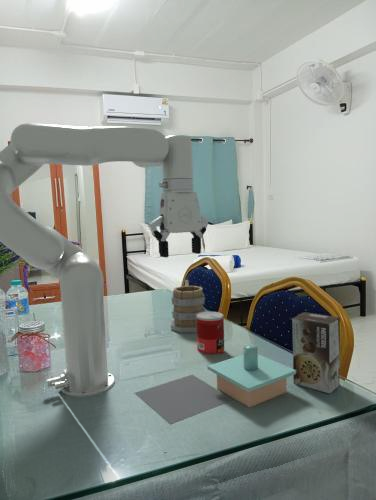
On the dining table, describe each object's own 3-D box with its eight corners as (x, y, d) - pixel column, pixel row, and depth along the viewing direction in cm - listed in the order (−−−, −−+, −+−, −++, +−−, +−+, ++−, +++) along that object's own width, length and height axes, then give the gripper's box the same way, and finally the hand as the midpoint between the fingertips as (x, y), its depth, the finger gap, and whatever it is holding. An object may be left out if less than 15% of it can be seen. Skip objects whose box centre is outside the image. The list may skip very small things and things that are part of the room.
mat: (170, 427, 75) (170, 424, 75) (134, 395, 89) (134, 392, 89) (233, 402, 84) (233, 399, 84) (192, 376, 97) (192, 374, 97)
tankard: (207, 332, 131) (206, 289, 130) (170, 333, 132) (168, 290, 130) (206, 316, 151) (205, 278, 149) (173, 316, 151) (172, 279, 150)
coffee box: (340, 384, 91) (341, 317, 89) (329, 394, 86) (330, 324, 84) (304, 374, 97) (303, 311, 95) (291, 383, 92) (291, 317, 90)
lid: (248, 392, 78) (248, 364, 77) (207, 369, 90) (206, 344, 89) (296, 373, 86) (296, 348, 85) (252, 354, 97) (252, 332, 97)
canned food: (222, 356, 110) (221, 319, 108) (195, 355, 111) (193, 318, 110) (225, 347, 117) (224, 311, 116) (199, 346, 119) (198, 311, 118)
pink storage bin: (249, 410, 81) (249, 387, 80) (217, 390, 90) (216, 369, 89) (286, 394, 87) (286, 373, 86) (252, 377, 96) (252, 358, 95)
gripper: (155, 186, 89) (158, 260, 91) (215, 186, 99) (216, 253, 100) (140, 188, 95) (143, 257, 97) (198, 187, 105) (200, 250, 107)
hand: (180, 255), depth 99 cm, fingers open, 9 cm apart
